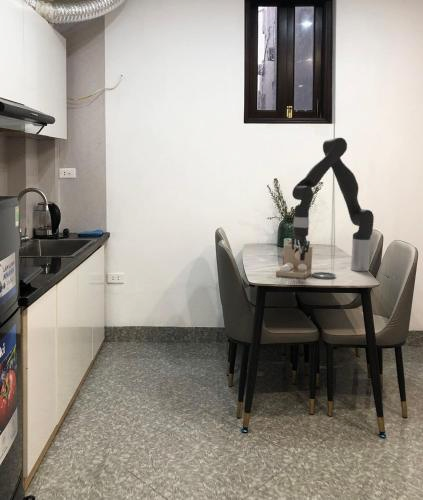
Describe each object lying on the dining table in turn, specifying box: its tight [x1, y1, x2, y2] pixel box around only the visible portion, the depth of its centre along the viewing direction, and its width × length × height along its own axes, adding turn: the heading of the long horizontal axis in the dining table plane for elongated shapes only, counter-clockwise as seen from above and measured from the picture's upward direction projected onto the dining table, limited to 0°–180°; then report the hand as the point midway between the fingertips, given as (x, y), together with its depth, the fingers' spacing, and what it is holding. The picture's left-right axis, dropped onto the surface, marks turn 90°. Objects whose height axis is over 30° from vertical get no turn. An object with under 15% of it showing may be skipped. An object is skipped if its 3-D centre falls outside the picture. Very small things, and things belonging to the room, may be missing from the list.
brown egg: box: [294, 251, 301, 261], centre depth 242 cm, size 5×5×5 cm
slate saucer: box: [311, 271, 336, 280], centre depth 244 cm, size 11×11×1 cm
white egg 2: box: [285, 262, 294, 270], centre depth 252 cm, size 5×5×5 cm
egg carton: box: [275, 244, 313, 280], centre depth 247 cm, size 15×15×14 cm
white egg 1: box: [280, 264, 291, 272], centre depth 245 cm, size 5×5×5 cm
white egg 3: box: [297, 264, 307, 271], centre depth 249 cm, size 5×5×5 cm
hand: (299, 259), depth 242 cm, fingers closed on brown egg, 5 cm apart
